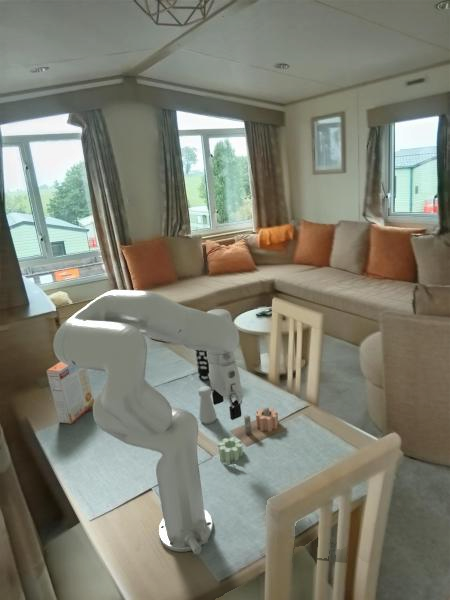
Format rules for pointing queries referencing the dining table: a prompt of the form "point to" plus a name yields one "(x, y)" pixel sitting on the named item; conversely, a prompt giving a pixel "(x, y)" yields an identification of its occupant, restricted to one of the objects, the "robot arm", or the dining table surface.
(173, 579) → the dining table surface
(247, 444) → the gear board
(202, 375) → the white-spotted black cylinder
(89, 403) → the cracker box
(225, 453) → the green gear
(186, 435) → the robot arm
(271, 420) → the terracotta gear
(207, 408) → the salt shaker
